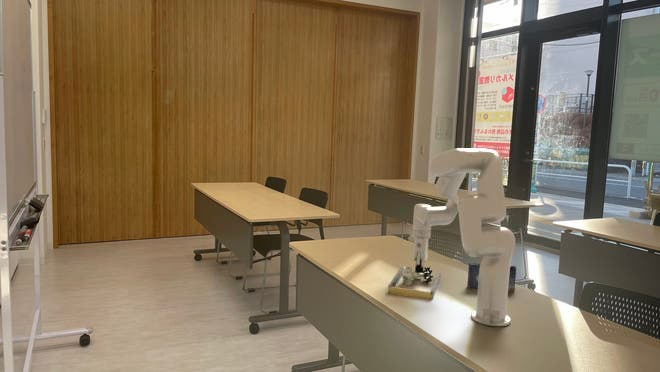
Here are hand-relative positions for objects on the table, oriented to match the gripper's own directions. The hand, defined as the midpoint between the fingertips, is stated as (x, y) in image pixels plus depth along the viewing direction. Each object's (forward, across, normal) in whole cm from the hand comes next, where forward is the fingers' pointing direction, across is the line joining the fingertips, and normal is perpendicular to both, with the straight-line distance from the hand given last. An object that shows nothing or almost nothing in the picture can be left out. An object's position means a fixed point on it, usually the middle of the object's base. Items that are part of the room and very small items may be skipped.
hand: (418, 275), depth 210 cm
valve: (+1, -7, 0) cm, 7 cm away
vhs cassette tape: (+1, -1, -29) cm, 29 cm away
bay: (+1, -10, 0) cm, 11 cm away
